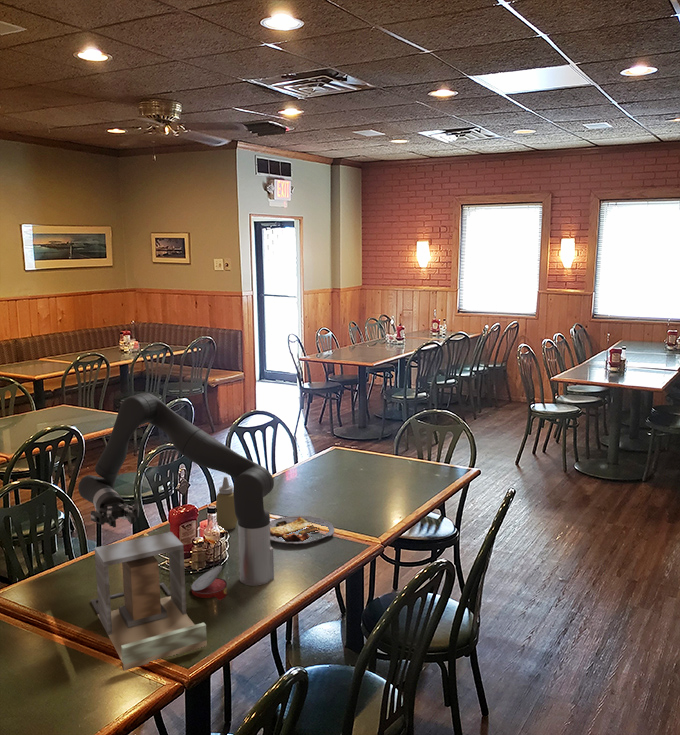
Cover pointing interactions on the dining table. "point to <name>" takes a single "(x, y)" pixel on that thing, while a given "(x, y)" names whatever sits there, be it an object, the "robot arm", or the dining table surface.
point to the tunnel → (177, 627)
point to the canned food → (210, 585)
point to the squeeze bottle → (226, 506)
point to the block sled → (141, 592)
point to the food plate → (296, 529)
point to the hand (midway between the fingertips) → (123, 522)
